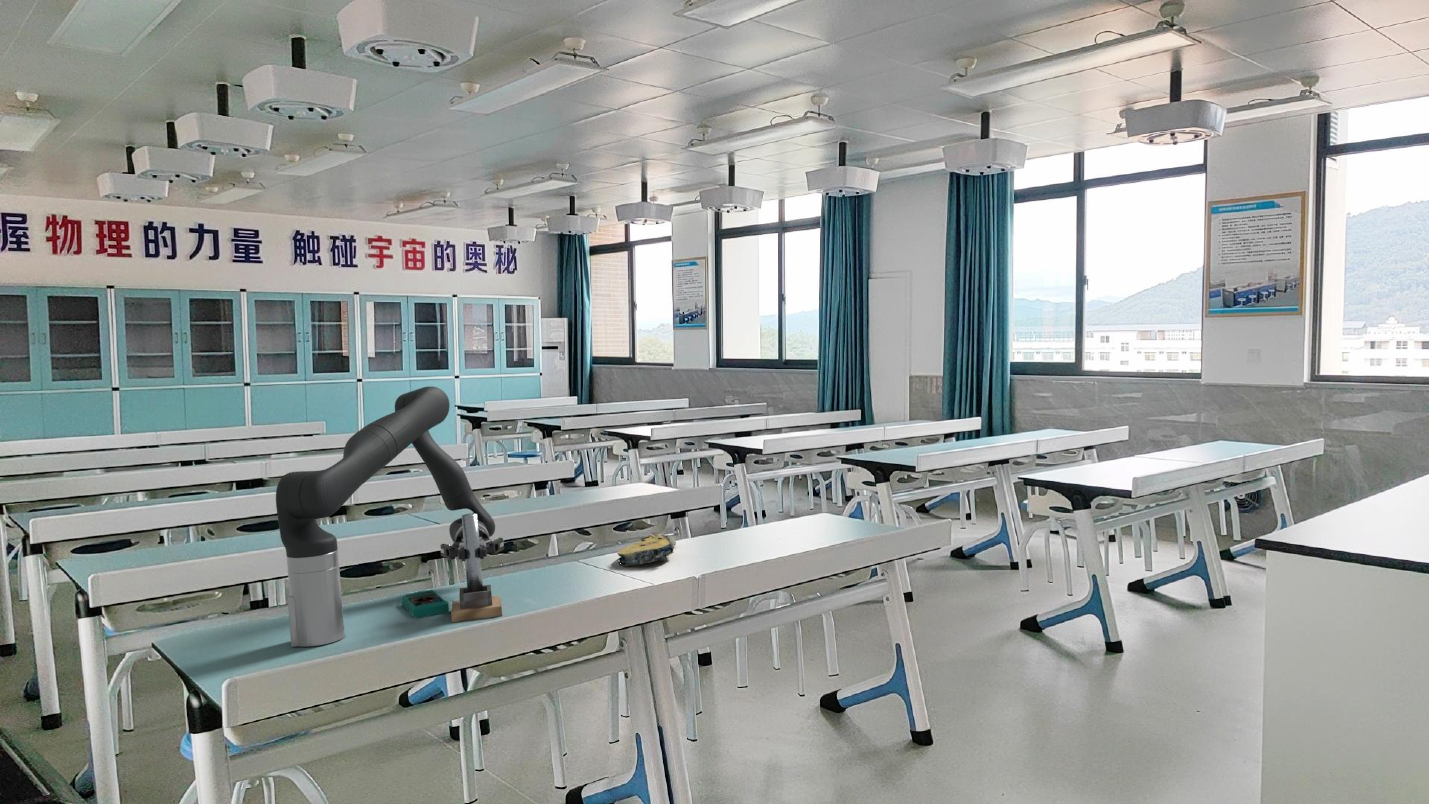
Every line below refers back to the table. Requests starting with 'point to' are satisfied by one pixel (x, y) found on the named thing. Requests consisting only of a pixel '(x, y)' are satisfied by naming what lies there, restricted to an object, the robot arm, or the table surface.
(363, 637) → the table surface
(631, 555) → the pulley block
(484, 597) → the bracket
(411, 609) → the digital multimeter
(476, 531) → the rod
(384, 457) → the robot arm
